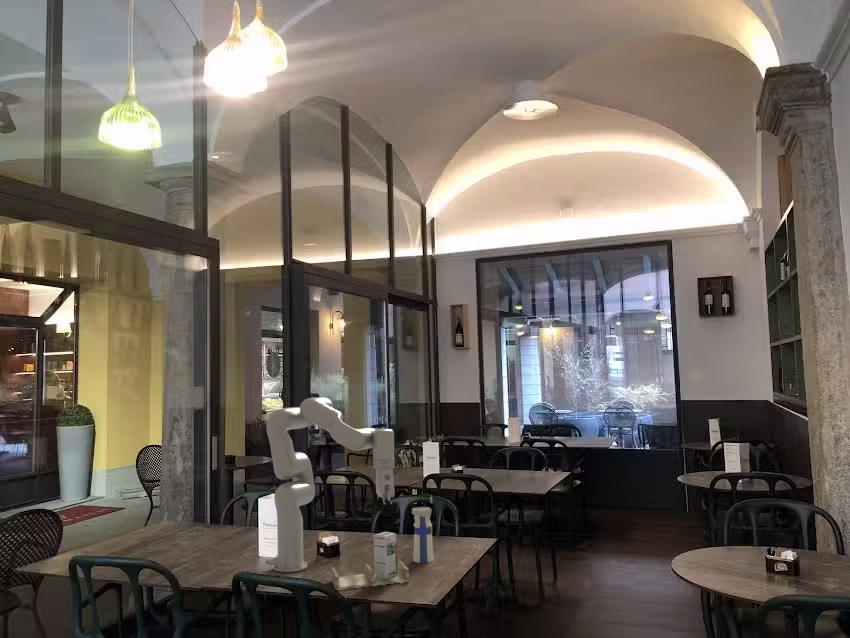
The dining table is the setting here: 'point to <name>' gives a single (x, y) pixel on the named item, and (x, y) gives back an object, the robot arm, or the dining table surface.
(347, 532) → the dining table surface
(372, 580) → the slot rack
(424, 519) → the water bottle
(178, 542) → the dining table surface
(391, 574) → the syrup box
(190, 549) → the dining table surface
